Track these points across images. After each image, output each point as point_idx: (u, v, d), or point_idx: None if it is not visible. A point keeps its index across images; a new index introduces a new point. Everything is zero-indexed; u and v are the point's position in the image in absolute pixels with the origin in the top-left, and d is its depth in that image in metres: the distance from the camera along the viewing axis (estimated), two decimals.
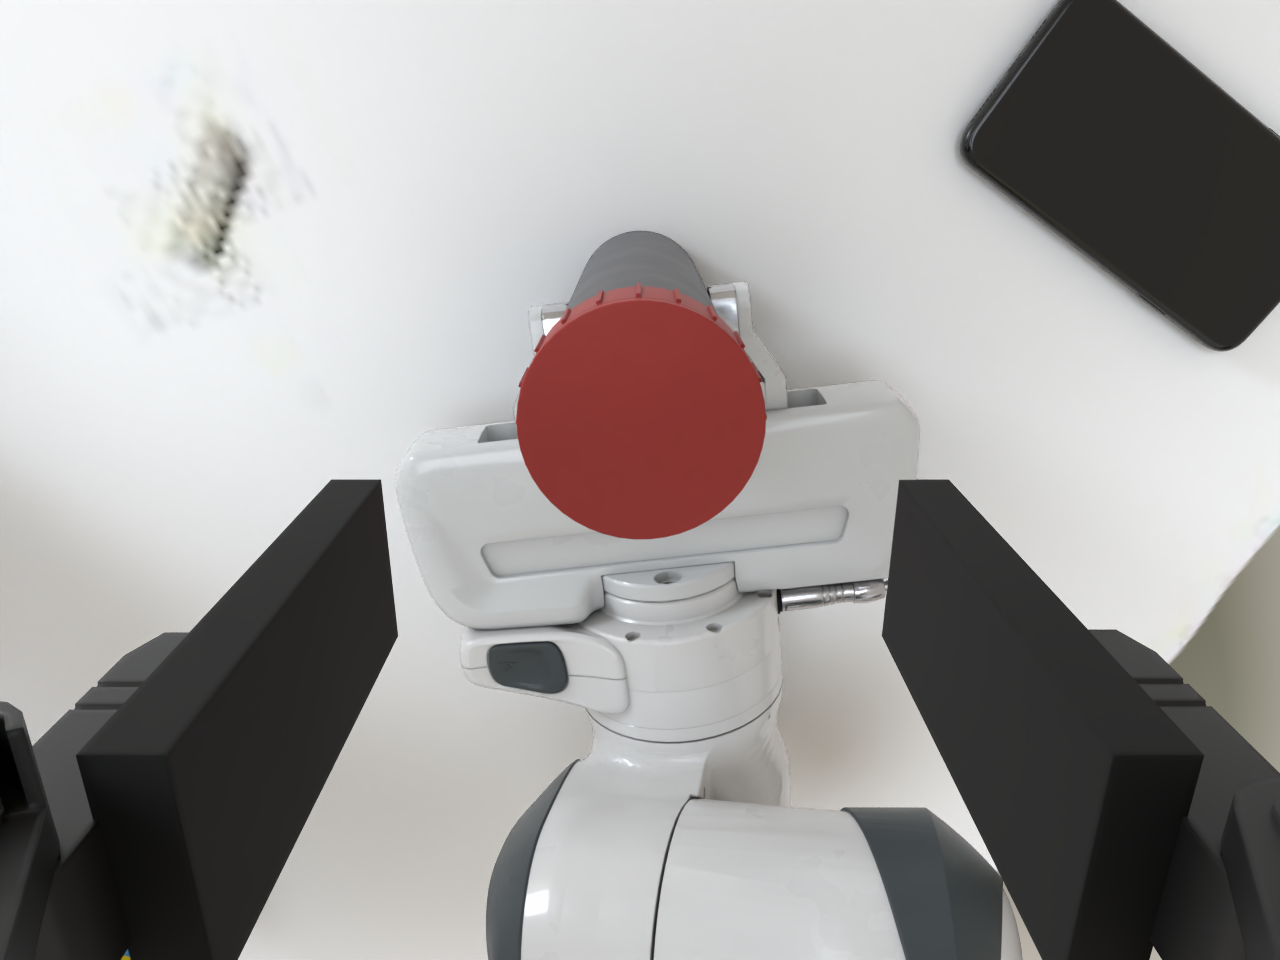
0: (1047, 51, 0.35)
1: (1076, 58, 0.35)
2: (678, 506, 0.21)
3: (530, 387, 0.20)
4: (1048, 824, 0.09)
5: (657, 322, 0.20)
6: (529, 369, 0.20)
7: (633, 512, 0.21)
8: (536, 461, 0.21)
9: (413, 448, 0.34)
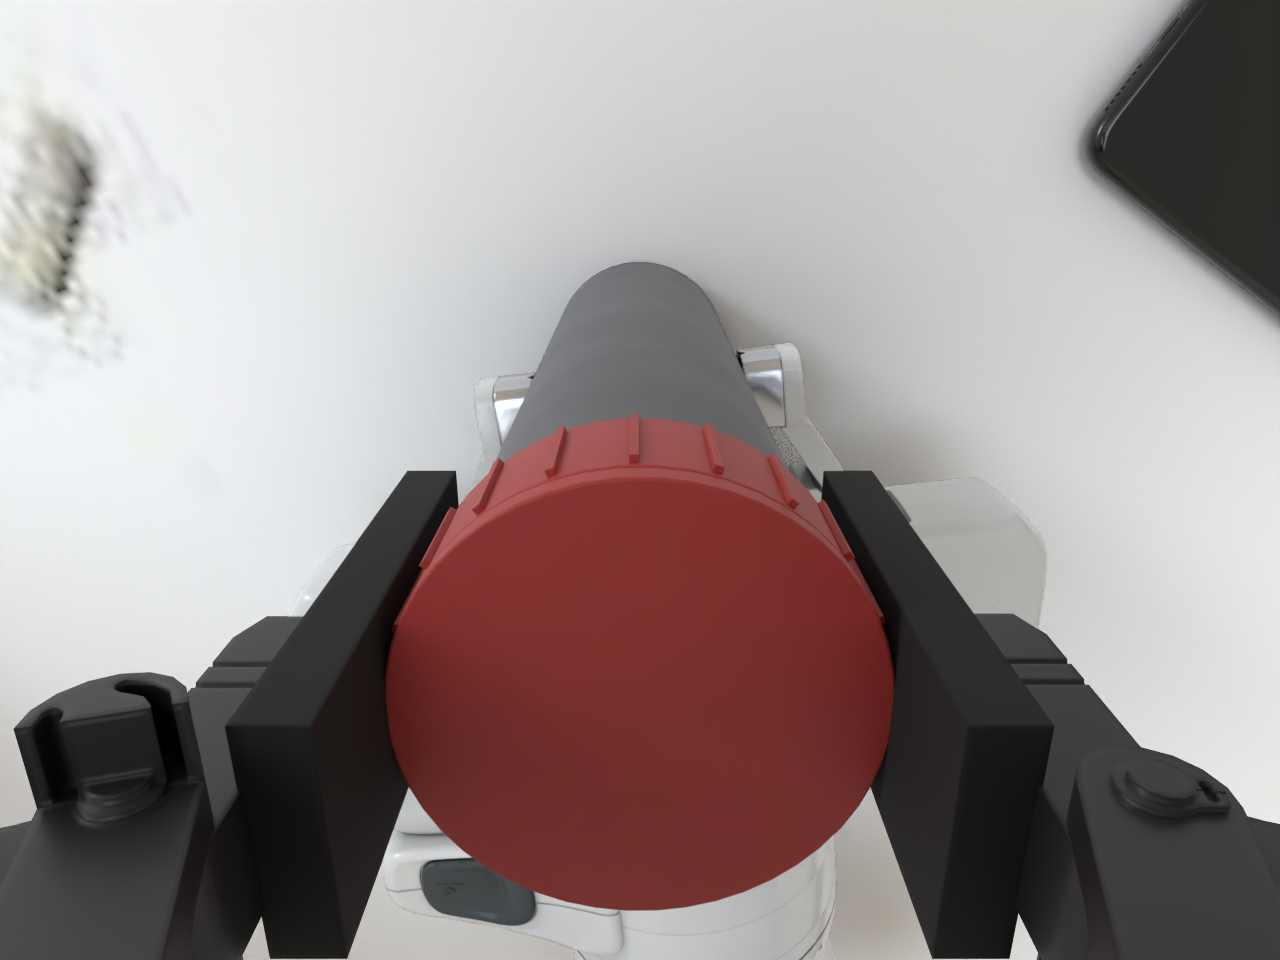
0: (1219, 10, 0.25)
1: (1261, 20, 0.25)
2: (713, 856, 0.11)
3: (409, 645, 0.10)
4: (924, 796, 0.09)
5: (674, 521, 0.09)
6: (405, 612, 0.10)
7: (624, 866, 0.11)
8: (428, 779, 0.10)
9: (312, 581, 0.24)
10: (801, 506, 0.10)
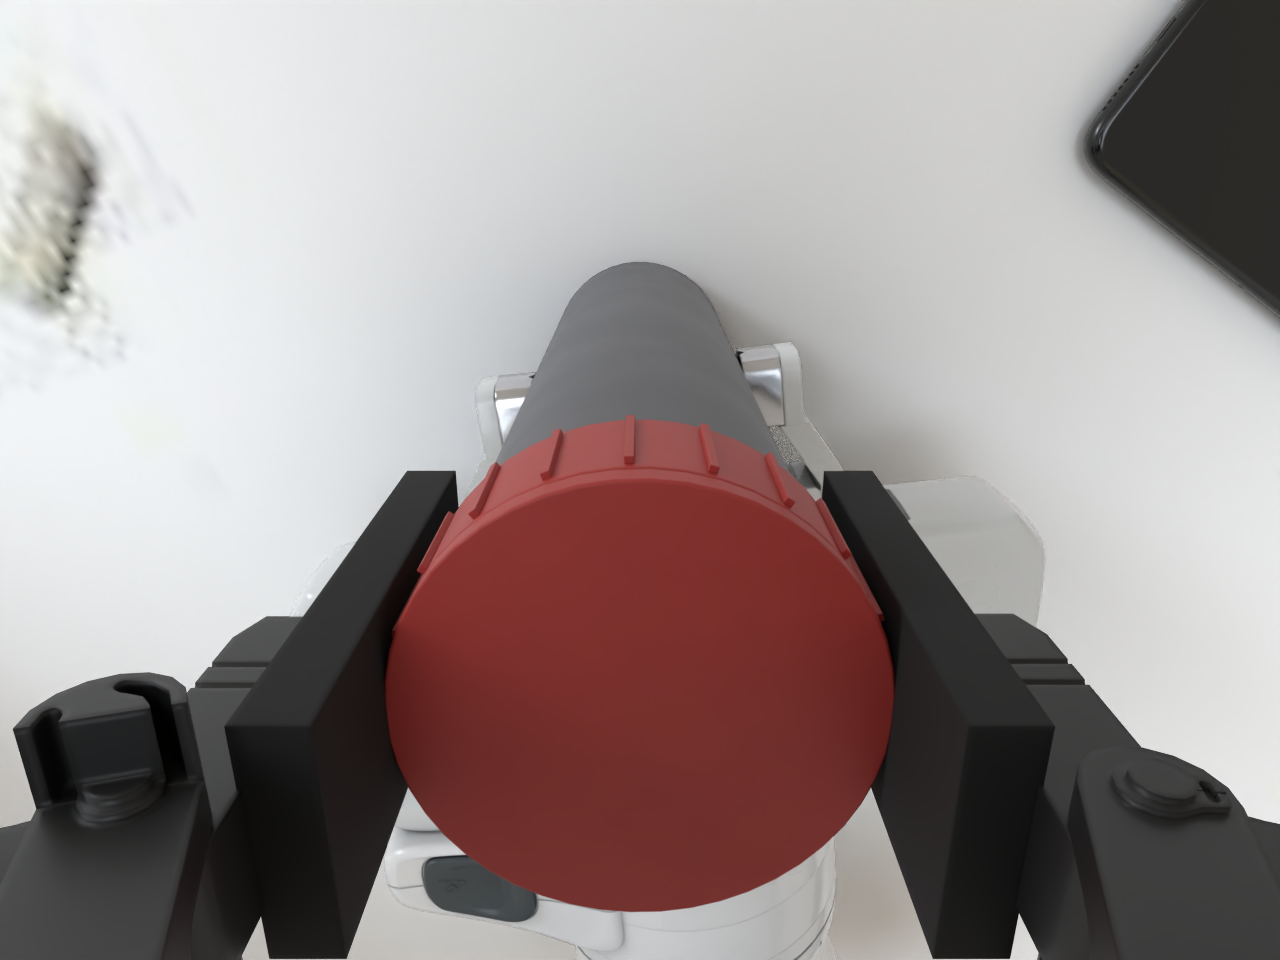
0: (1216, 10, 0.25)
1: (1257, 20, 0.25)
2: (821, 646, 0.10)
3: (569, 891, 0.11)
4: (925, 796, 0.09)
5: (424, 694, 0.10)
6: (535, 892, 0.11)
7: (830, 728, 0.10)
8: (713, 886, 0.11)
9: (314, 580, 0.24)
10: (444, 542, 0.10)
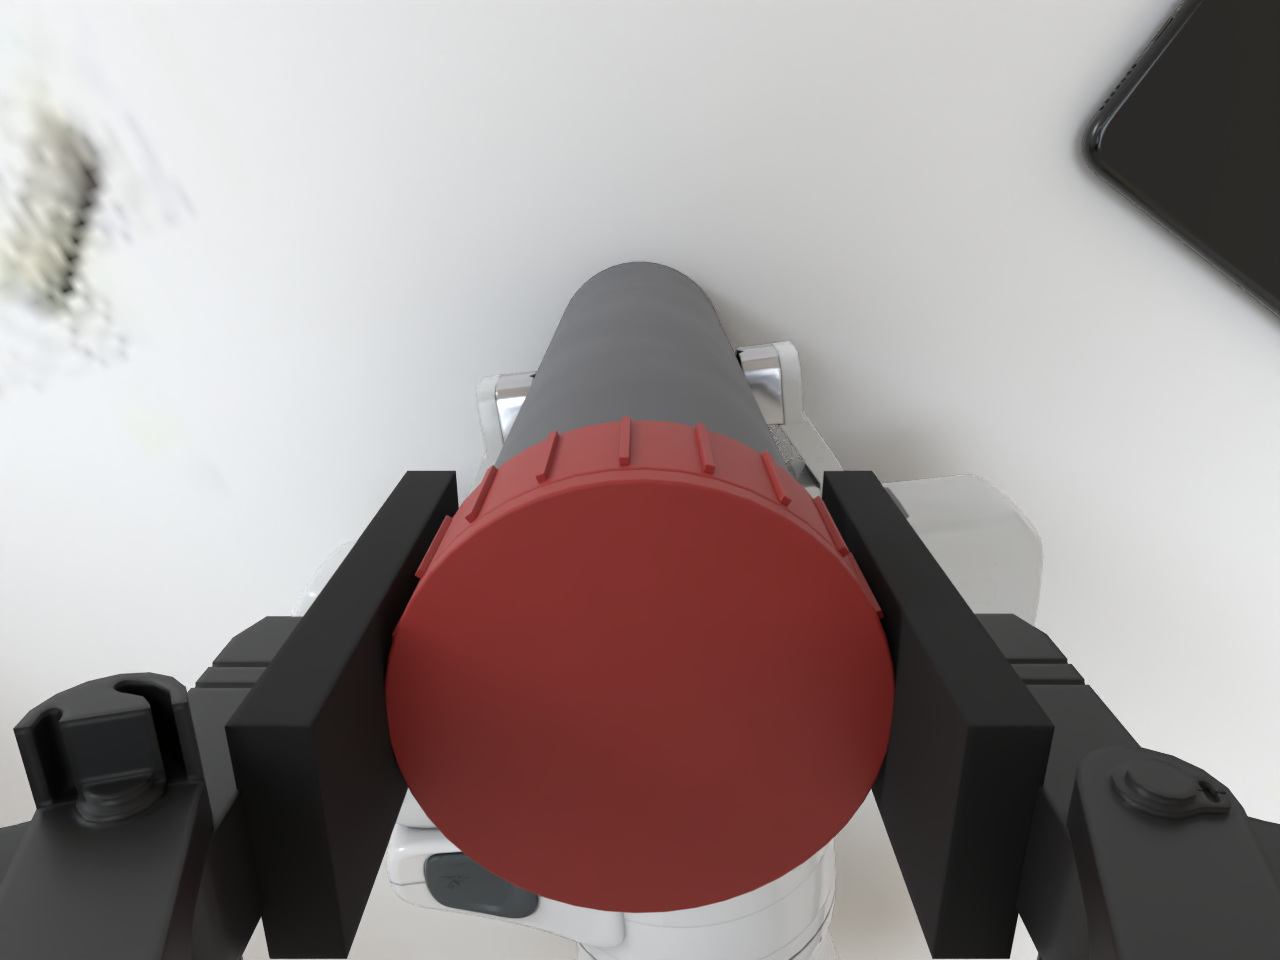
0: (1213, 10, 0.25)
1: (1254, 20, 0.25)
2: (548, 561, 0.09)
3: (859, 778, 0.10)
4: (925, 796, 0.09)
5: (617, 885, 0.11)
6: (857, 807, 0.11)
7: (650, 544, 0.09)
8: (861, 646, 0.10)
9: (316, 578, 0.24)
10: None
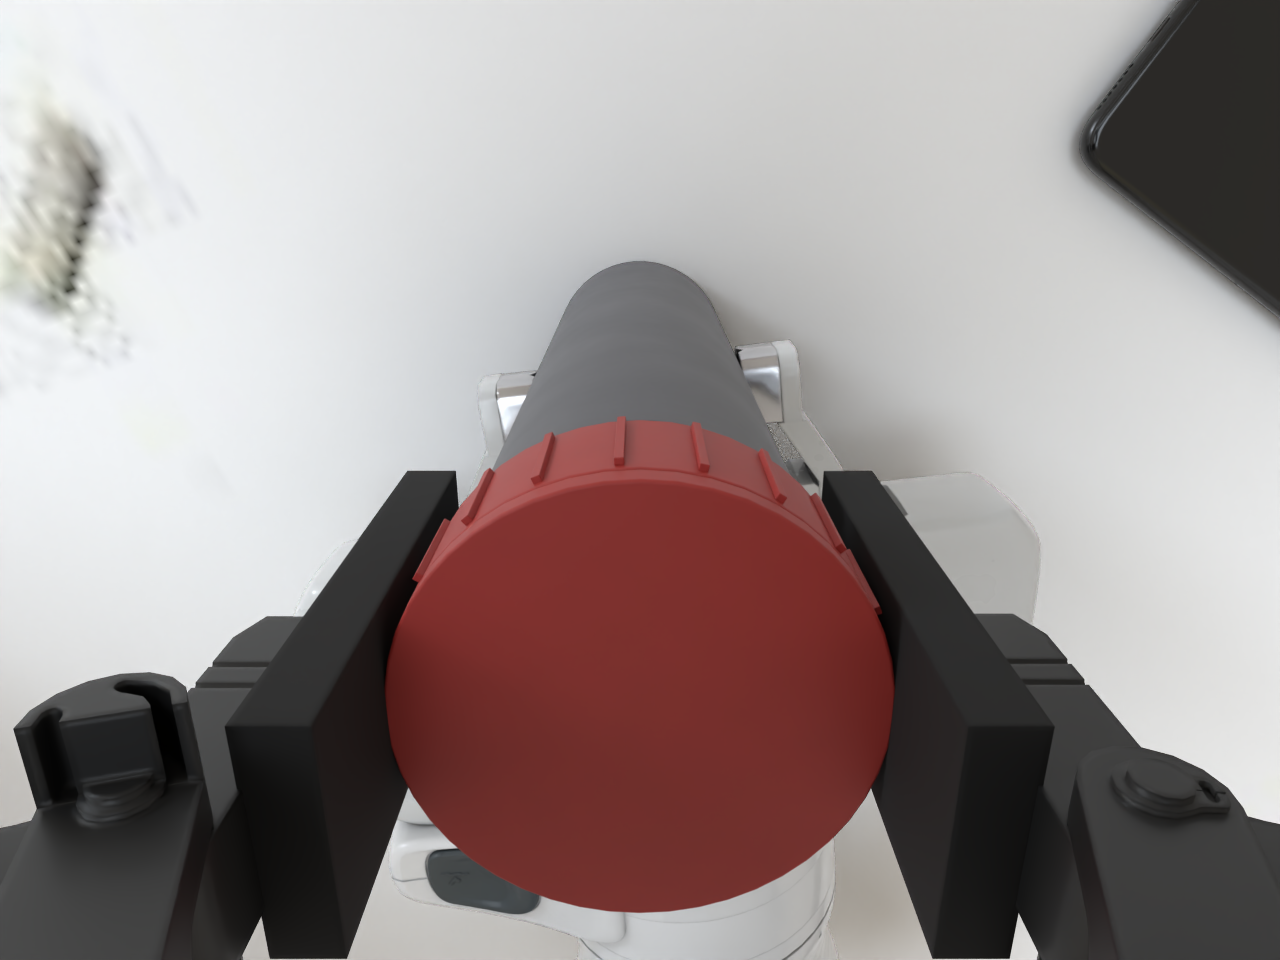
0: (1209, 10, 0.25)
1: (1250, 19, 0.25)
2: (473, 791, 0.10)
3: (715, 508, 0.09)
4: (924, 796, 0.09)
5: (851, 736, 0.10)
6: (755, 506, 0.09)
7: (447, 714, 0.10)
8: (543, 524, 0.09)
9: (318, 576, 0.24)
10: None
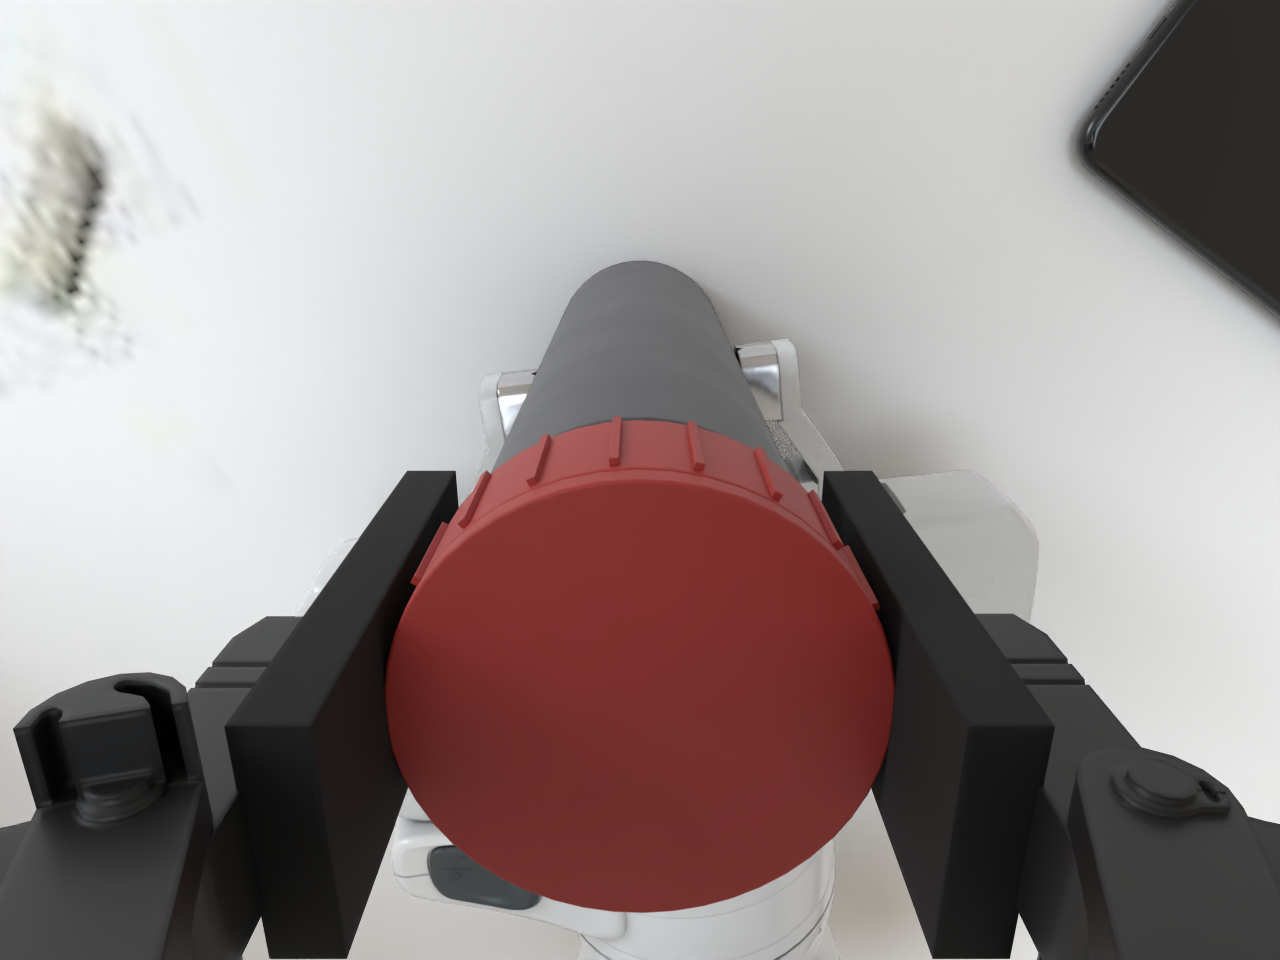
0: (1206, 10, 0.25)
1: (1246, 19, 0.25)
2: (725, 853, 0.11)
3: (405, 662, 0.10)
4: (925, 796, 0.09)
5: (657, 522, 0.09)
6: (398, 629, 0.10)
7: (637, 868, 0.11)
8: (436, 794, 0.10)
9: (320, 574, 0.24)
10: (787, 497, 0.10)
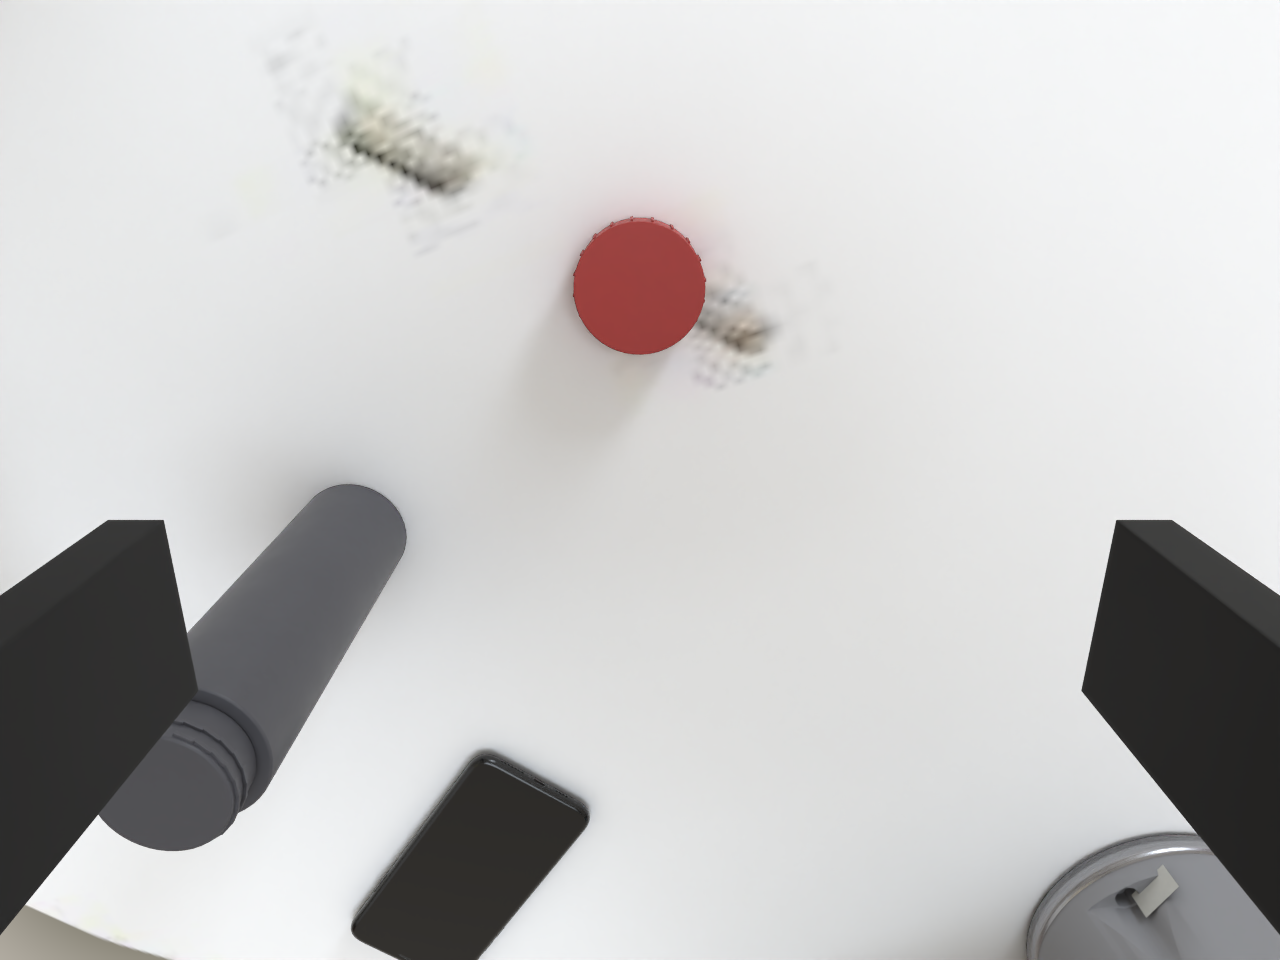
0: (546, 802, 0.50)
1: (542, 819, 0.51)
2: (683, 264, 0.39)
3: (624, 348, 0.40)
4: None
5: (584, 286, 0.39)
6: (615, 349, 0.40)
7: (688, 289, 0.39)
8: (663, 343, 0.40)
9: None
10: None
